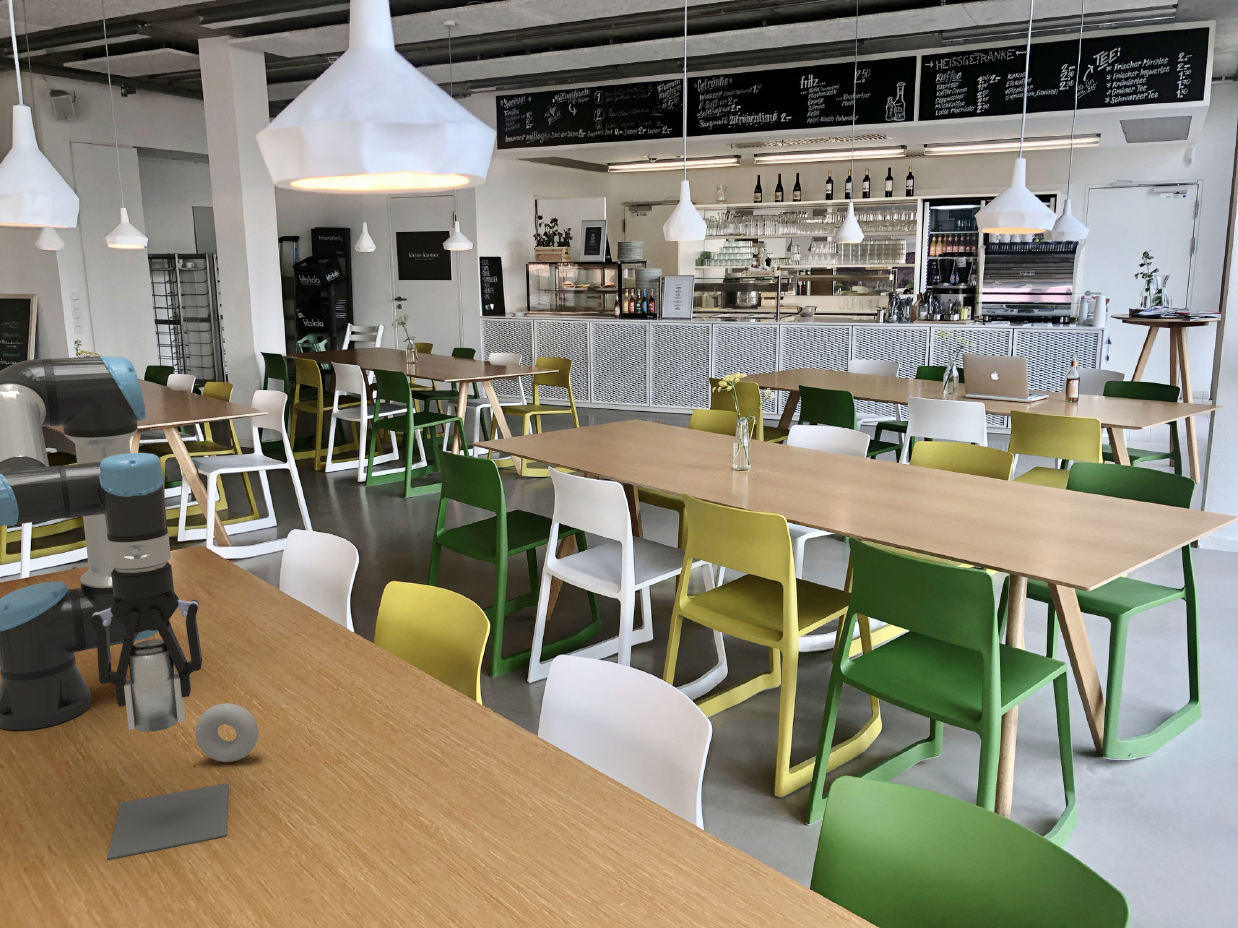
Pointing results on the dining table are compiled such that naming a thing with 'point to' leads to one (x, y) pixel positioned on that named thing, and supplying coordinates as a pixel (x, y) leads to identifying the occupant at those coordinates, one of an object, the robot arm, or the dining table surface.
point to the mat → (170, 821)
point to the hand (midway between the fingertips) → (157, 721)
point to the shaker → (152, 686)
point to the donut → (215, 744)
